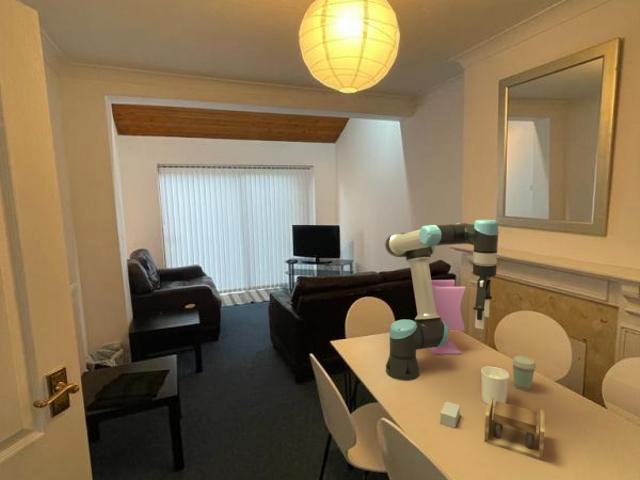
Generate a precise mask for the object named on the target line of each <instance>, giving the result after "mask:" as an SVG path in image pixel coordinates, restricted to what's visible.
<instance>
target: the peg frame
mask: <svg viewBox="0 0 640 480" xmlns="http://www.w3.org/2000/svg"><path fill="white" fill-rule="evenodd" d="M486 407H487V409H486V412H485V419H484V420H485V421H484V424H485V425H484V443H487V444H490V445H493V446H497V447H499V448H503V449H506V450H508V451H512V452H515V453H517V454H521V455H524V456H526V457H529V458H533V459H536V460H539V461H542V462H543V459H544V457H543V456H544V445H545V444H544V443H545V410H543V409H540V412H539V413H540V414H539V426H538V427H539V428H538V429H539V430H538V432H536V435H535V434H532V433H528V432H525V431H522V430H518V429H515V428H512V427H508V426H505V425H502V424H498V423H495V422H493V412H494V407H493V397H491V396H490V399H489V403H488V405H487V406H486Z"/></svg>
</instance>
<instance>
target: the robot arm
mask: <svg viewBox="0 0 640 480" xmlns="http://www.w3.org/2000/svg"><path fill="white" fill-rule="evenodd" d="M499 233H500V232H499V222H498V221H497V220H496V219H477V220H475V221H474V224H473V223H467V222H458V223H450V224H437V225H436V224H429V225H428V224H427V225H423V226H421V229H418V230H413V231H409V232H400V233H399V232H398V233H393V234H390V235H389V236H388V237H387V238H386V240H385V242H384V246H385V250H386V252H387V253H388V254H389V255H391V256H392V257H395V258H405V259H406V260H405V261H406V262H407V263H408V264H409V266H410V267H409V268H410V273H411V279H412V280H411V281H412V286H413V293H414V299H415V306H416V312H417V313H416V314H417V315H416V317H415V318H414V320H412V319H399V320H395V321H393V322H392V323H391V324H390V327H389V328H390V329H389V355H388V358H387V362H386V364H385V373H386V374H387V376H389V377H391V378H393V379H395V380H399V381H413V380H415V379H417V378H419V376H420V373H421V372H420V371H421V369H420V366H419V365H420V364H419V362H418V360H417V350H423V349H430V348H431V347H438V346H443V345H444V344H445V343H446V341H447V340H448V341H449V335H450V334H449V331H450V330H448V326H447V325H446V323H445V322H444V321H443V320H441V316H439V315H438V314H437V313H436V306H435V300H434V294H433V287H432V281H431V280H432V277H431V269H430V263H429V262H430V261H431V259H432V255H433V254H434V252H435V247H438V246H447V245H448V246H449V245H472V246H473V250H472V251H473V255H472V257H473V258H472V262H473V264H472V274H473V275H475V276H476V277H477V276H478V277H479V278H478V280H477V281H476V285H477V286H476V296H475V305H474V307H473V310H474V311H475V315H474V316H475V318H474V319H475V321H474V322H475V323H474V328H476V329H481V330H485V317H487V318H489V317H490V305H491V304H490V303H491V301H490V300H493V296H491V282H492V280H491V278H492V277H495V276H497V263H498V261H497V260H498V259H499V258H500V256H499V254H498V245H499V244H498V243H499Z"/></svg>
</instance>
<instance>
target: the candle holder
mask: <svg viewBox="0 0 640 480" xmlns="http://www.w3.org/2000/svg"><path fill="white" fill-rule="evenodd" d="M480 375H481V379H480V381H481V400H482V402H483V403H484V404H485V405H487V406H488V403H489V399H490V396H491V397H493V408H495V403H496V401H498V402H502V403H506V404H507V398H508V389H509V383H510V382H509V381H510V373H509V372H508V371H507V370H505V369H504V368H500V367H497V366H489V365H488V366H483V367H482V368H481V369H480Z"/></svg>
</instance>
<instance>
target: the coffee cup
mask: <svg viewBox="0 0 640 480" xmlns="http://www.w3.org/2000/svg"><path fill="white" fill-rule="evenodd" d="M511 364H512V372H513V382H514V383H513V384H514V387H515V389H517V390H519V391H522V392H529V391H530V390H531V389H532V384H533V378H534V375H535V369H536V367H537V364H536V362H535V360H534V359H532V358H530V357H527V356H524V355H516V356H514V357H513V359H512V360H511Z"/></svg>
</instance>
